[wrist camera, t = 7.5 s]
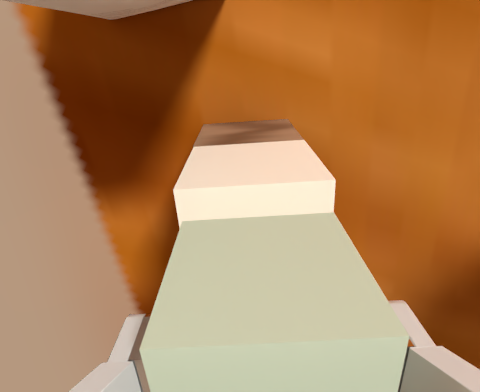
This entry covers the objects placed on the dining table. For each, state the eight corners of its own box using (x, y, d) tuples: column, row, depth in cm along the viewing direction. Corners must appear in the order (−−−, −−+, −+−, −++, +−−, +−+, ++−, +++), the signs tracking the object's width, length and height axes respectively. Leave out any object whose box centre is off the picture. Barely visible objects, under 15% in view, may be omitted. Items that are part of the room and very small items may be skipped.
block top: (304, 139, 17) (335, 179, 12) (302, 235, 20) (327, 305, 14) (193, 146, 17) (173, 189, 12) (205, 240, 20) (193, 312, 14)
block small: (333, 212, 10) (409, 335, 6) (326, 325, 12) (377, 483, 8) (182, 221, 10) (139, 349, 6) (199, 332, 12) (177, 491, 8)
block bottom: (287, 118, 23) (303, 139, 17) (287, 195, 25) (301, 235, 20) (203, 124, 23) (192, 146, 17) (212, 200, 25) (204, 240, 20)
